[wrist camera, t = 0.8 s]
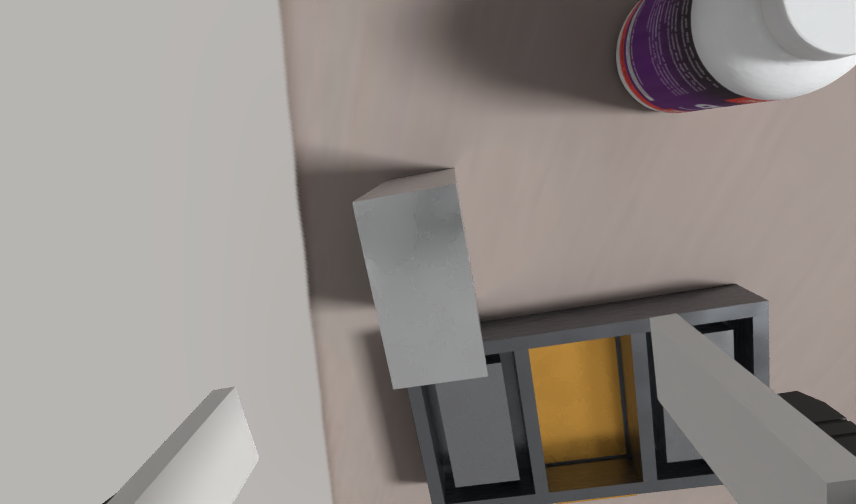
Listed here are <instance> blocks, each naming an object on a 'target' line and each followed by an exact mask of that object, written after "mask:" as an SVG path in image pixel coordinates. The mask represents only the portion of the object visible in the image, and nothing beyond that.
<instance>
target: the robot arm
mask: <svg viewBox="0 0 856 504" xmlns="http://www.w3.org/2000/svg"><path fill="white" fill-rule="evenodd" d="M650 327H651V337H652V347H653V357H654V367H655V377H656V387H657V397H658V400H659V402H660V403H661V404H662V406H663V407H664V408H665V409H666V411H667V412H668V413H669V415H670V416H671V417H672V419H673V420H674V421H675V422H676V424H677V425H678V426H679V428H680V429H681V430H682V431H683V433H684V434H685V435H686V437H687V438H688V439H689V440H690V442H691V443H692V444H693V446H694V447H695V448H696V450H697V451H698V452H699V453H700V455H701V456H702V457H703V459H704V460H705V461H706V462H707V464H708V465H709V466H710V468H711V469H712V470H713V472H714V473H715V474H716V475H717V477H718V478H719V479H720V481H721V482H722V483H723V484H724V486H725V487H726V488H727V490H728V491H729V492H730V494H731V495H732V496H733V497H734V499H735V500H736V501H737V503H738V504H856V425H855V424H854V423H852V422H851V421H847V419H846V417H844V416H843V415H841V414H840V413H839V412H837V411H836V410H834V409H833V408H832V407H830V406H829V405H827V404H826V403H825V402H822V401H820V400H817V399H815V398H813V397H810V396H808V395H805V394H803V393H801V392H798V391H793V392H786V393H780V394H776V393H775V392H774V391H773V390H771V389H770V388H769V387H768V386H766V385H765V384H764V383H763V382H761V381H760V380H759V379H758V378H756V377H755V376H754V375H753V374H751V373H750V372H749V371H748V370H746V369H745V368H744V367H743V366H741V365H740V364H739V363H738V362H736V361H735V360H734V359H733V358H731V357H730V356H729V355H728V354H726V353H725V352H724V351H723V350H721V349H720V348H719V347H718V346H716V345H715V344H714V343H713V342H711V341H710V340H709V339H708V338H706V337H705V336H704V335H703V334H701V333H700V332H699V331H698V330H696V329H695V328H694V327H693V326H691V325H690V324H689V323H688V322H686V321H685V320H684V319H683V318H681V317H680V316H679V315H678V314H677V313H676V314H670V315H664V316H658V317H652V318H650ZM258 460H259V456H258V453H257V450H256V447H255V444H254V441H253V438H252V436H251V433H250V430H249V427H248V424H247V421H246V418H245V415H244V412H243V409H242V406H241V403H240V401H239V398H238V395H237V392H236V389H235V387H231V388H225V389H218V390H213V391H212V392H211V393H210V394H209V395H208V396H207V397H206V398H205V399H204V400H203V401H202V403H201V404H200V405H199V406H198V407H197V408H196V409H195V410H194V411H193V412H192V413H191V414H190V415H189V416H188V418H187V419H186V420H185V421H184V422H183V423H182V424H181V425H180V426H179V427H178V428H177V429H176V430H175V431H174V432H173V434H172V435H171V436H170V437H169V438H168V439H167V440H166V441H165V442H164V443H163V444H162V445H161V446H160V448H158V450H157V451H156V452H155V453H154V454H153V455H152V456H151V457H150V458H149V459H148V460H147V461H146V462H145V463H144V464H143V466H142V467H141V468H140V469H139V470H138V471H137V472H136V473H135V474H134V476H132V477H131V478H130V479H129V481H128V482H127V483H126V484H125V485H124V486H123V487H122V488H121V489H120V490H119V491H118V492H117V493H116V494H115V495H113V496H112V497H111V498H109V499H108V500H107V501H105V502H104V503H103V504H233V502H234V500H235V499H236V497H237V495H238V494H239V492H240V490H241V489H242V487H243V485H244V484H245V482H246V480H247V479H248V477H249V475H250V474H251V472H252V470H253V468H254V467H255V465H256V463H257V462H258Z"/></svg>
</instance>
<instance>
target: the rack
mask: <svg viewBox="0 0 856 504" xmlns="http://www.w3.org/2000/svg"><path fill="white" fill-rule="evenodd" d="M676 313H677V314H678V315H679V316H680V317H681V318H683V319H684V320H685V321H686V322H688V323H689V324H690V325H691V326H693V327H694V328H695V329H696V330H698V331H699V332H700V333H701V334H703V335H704V336H705V337H706V338H708V339H709V340H710V341H711V342H713V343H714V344H715V345H716V346H718V347H719V348H720V349H721V350H723V351H724V352H725V353H726V354H728V355H729V356H730V357H731V358H733V359H734V360H735V361H736V362H738V363H739V364H740V365H741V366H743V367H744V368H745V369H746V370H748V371H749V372H750V373H751V374H753V375H754V376H755V377H756V378H758V379H759V380H760V381H761V382H763V383H764V384H765V385H766V386H768V387H769V308H768V300H766V299H764V298H762V297H760V296H758V295H756V294H754V293H752V292H750V291H748V290H747V289H745V288H743V287H741V286H739V285H737V284H732V285H726V286H719V287H712V288H706V289H699V290H692V291H686V292H679V293H672V294H666V295H659V296H652V297H646V298H639V299H632V300H626V301H619V302H612V303H606V304H599V305H592V306H586V307H579V308H572V309H566V310H559V311H552V312H546V313H539V314H532V315H526V316H519V317H512V318H506V319H499V320H492V321H486V322H480V325H481V332H482V339H483V345H484V352H485V359H486V365H487V372H488V376H487V377H480V378H473V379H466V380H459V381H451V382H444V383H437V384H430V385H422V386H415V387H408V388H407V390H408V394H409V399H410V404H411V408H412V413H413V418H414V422H415V427H416V432H417V436H418V441H419V446H420V450H421V455H422V460H423V464H424V469H425V474H426V478H427V483H428V488H429V492H430V497H431V502H432V504H552V503H557V504H563V503H572V502H581V501H590V500H599V499H608V498H617V497H626V496H635V495H637V494H642V493H651V492H660V491H669V490H678V489H687V488H696V487H705V486H714V485H723V483H722V482H721V481H720V479H719V478H718V477H717V475H716V474H715V473H714V472H713V470H712V469H711V468H710V466H709V465H708V464H707V462H706V461H705V460H704V459H703V457H702V456H701V455H700V453H699V452H698V451H697V450H696V448H695V447H694V446H693V444H692V443H691V442H690V440H689V439H688V438H687V437H686V435H685V434H684V433H683V431H682V430H681V429H680V428H679V426H678V425H677V424H676V422H675V421H674V420H673V419H672V417H671V416H670V415H669V413H668V412H667V411H666V409H665V408H664V407H663V406H662V404H661V403H660V402H659V400H658V397H657V387H656V377H655V367H654V357H653V347H652V337H651V327H650V318H652V317H658V316H664V315H670V314H676Z"/></svg>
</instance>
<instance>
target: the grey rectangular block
mask: <svg viewBox="0 0 856 504" xmlns="http://www.w3.org/2000/svg"><path fill="white" fill-rule="evenodd" d="M352 205H353V210H354V214H355V219H356V223H357V228H358V232H359V237H360V241H361V246H362V250H363V255H364V259H365V264H366V268H367V273H368V277H369V282H370V286H371V291H372V295H373V300H374V305H375V309H376V314H377V318H378V323H379V327H380V332H381V336H382V341H383V345H384V350H385V354H386V359H387V363H388V368H389V372H390V377H391V381H392V386H393V390H394V389H401V388H408V387H415V386H422V385H430V384H437V383H444V382H451V381H459V380H466V379H473V378H480V377H487V376H488V372H487V365H486V359H485V352H484V345H483V339H482V332H481V325H480V319H479V312H478V305H477V299H476V293H475V287H474V281H473V275H472V269H471V263H470V257H469V251H468V245H467V239H466V233H465V227H464V221H463V215H462V209H461V203H460V197H459V191H458V185H457V179H456V173H455V168H452V169H447V170H441V171H436V172H430V173H425V174H419V175H414V176H408V177H403V178H397V179H392V180H387V181H385V182H384V183H382V184H380V185H379V186H377V187H376V188H374V189H372V190H371V191H369V192H368V193H366V194H364V195H363V196H361V197H360V198H358V199H356V200H355V201H353V202H352Z"/></svg>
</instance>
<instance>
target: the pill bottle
mask: <svg viewBox="0 0 856 504" xmlns="http://www.w3.org/2000/svg"><path fill="white" fill-rule="evenodd" d="M616 62H617V68H618V73H619V76H620V79H621V81H622V83H623V85H624V87H625V88H626V89H627V91H628V92H629V93H630V94H631V95H632V97H633V98H634V99H635V100H637V101H638V102H639V103H641V104H642V105H644V106H645V107H647V108H649V109H652V110H655V111H659V112H665V113H682V112H691V111H697V110H704V109H712V108H719V107H727V106H734V105H741V104H749V103H757V102H765V101H774V100H781V99H788V98H793V97H798V96H801V95H805V94H808V93H810V92H813V91H815V90H818V89H820V88H822V87H824V86H826V85H828V84H830V83H832V82H833V81H835V80H836V79H838V78H839V77H841V76H842V75H844V74H845V73H846V72H848V71H849V70H850V69H851V68H853V67H854V66H855V65H856V0H640V1H639V2H638V3H637V4H636V5H635V6H634V8H633V9H632V10H631V12H630V13H629V15H628V16H627V18H626V20H625V22H624V24H623V26H622V28H621V31H620V34H619V37H618V42H617V49H616Z"/></svg>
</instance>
